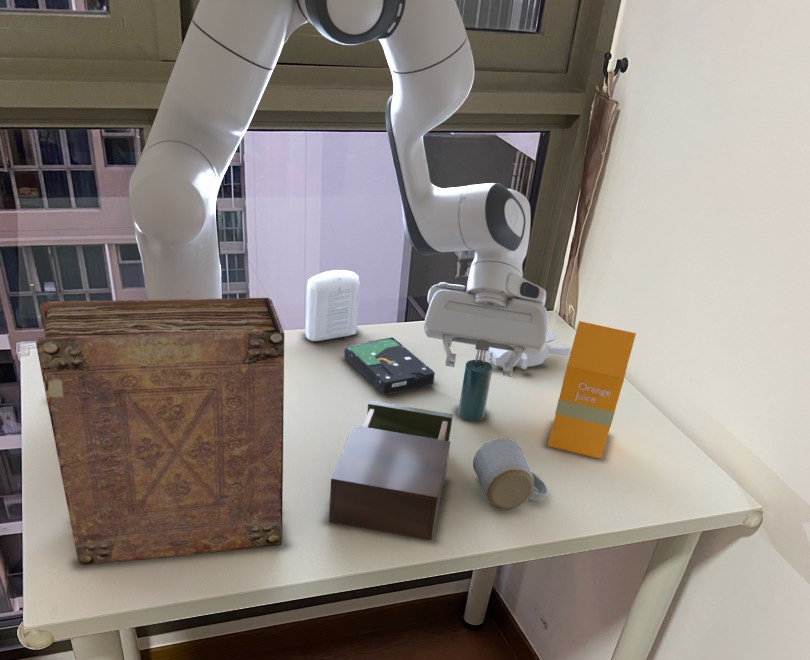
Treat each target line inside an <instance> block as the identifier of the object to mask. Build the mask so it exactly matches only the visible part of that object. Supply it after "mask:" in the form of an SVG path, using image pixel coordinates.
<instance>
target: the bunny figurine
mask: <svg viewBox="0 0 810 660" xmlns="http://www.w3.org/2000/svg"><path fill="white" fill-rule="evenodd" d="M557 338H558V334H557V333H555V332H554V331H553V332H552V331H548V334H547V342H546V347H545V350H544V351H543V352H542V353H541V354H540V355H533V354H527V353H522V357H521V359H520V360H519V361H518V363H517V364H516V365H515V366H514V367H516V368H519V369H521V370H527V368H528V367H535V366H539V365H542V364H544V362H545V360H546V359H547V358H548V356H549V355H556V356H564V357H565V356H570V353H571V346H570V345H568V344H549V343H551V342H553V341H555V340H557ZM548 344H549V345H548ZM513 353H514V351H508V350H502V349H496V348H490V347H489V351H486V357H487V358H488V360H490V361H491V363H492V364H493V365H495V366H499V367H501V369H504V364H505V362H506V363H510V362H511V361H512V359H513V358H514V357H513Z"/></svg>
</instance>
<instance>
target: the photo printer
mask: <svg viewBox="0 0 810 660" xmlns="http://www.w3.org/2000/svg"><path fill="white" fill-rule="evenodd" d="M360 290H361V281H360V277H359V275H358V274H357V273H355V272H354V271H351V270H346V269H345V270H344V269H334V270H328V271H324V272H321V273H318V274H316V275H314V276H312V277H310V278H309V279H308V280H307V283H306V301H305V331H304V332H305V337H306V338H307V340H309V341H311V342H319V341H325V340H331V339H332V340H333V339H339V338H343V337H348V336H353V335H356V334H357V330H358V317H359V304H360V293H361V292H360Z"/></svg>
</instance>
